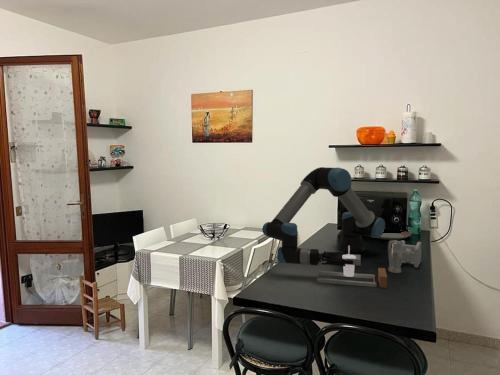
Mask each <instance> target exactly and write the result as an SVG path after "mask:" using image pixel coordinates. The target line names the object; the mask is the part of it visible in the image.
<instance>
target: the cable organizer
mask: <svg viewBox="0 0 500 375" xmlns="http://www.w3.org/2000/svg"><path fill="white" fill-rule="evenodd" d="M400 241H401V242H403V255H402V260H401V265H402V264H403V263H404V264H406V263H409V264H411V265H413V266H414V268H415V269H418V268H419V266H420V263H421V261H422V241H417V242H416V245H414V244H412V245H411V244H406V241H405V240H403V239H400Z"/></svg>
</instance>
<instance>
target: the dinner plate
mask: <svg viewBox="0 0 500 375" xmlns="http://www.w3.org/2000/svg"><path fill="white" fill-rule="evenodd" d="M403 231H404V230H403ZM410 236H411V233H410V232H408V231H404V232H401V233H383V234H382V235H381V236H380V237H379V238H378V239H379V240H384V241H391V240H396V241H401V240H403V239H407V238H408V237H410Z"/></svg>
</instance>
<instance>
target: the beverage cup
mask: <svg viewBox="0 0 500 375" xmlns="http://www.w3.org/2000/svg"><path fill="white" fill-rule="evenodd" d="M350 253H351V252H350V246H349V249H348V252H347V253H346V254H347V255H342V258H343V259H346V258H350V259H356V256H354V255H355V254H353V255H349V254H350ZM355 266H356V265H346V264H345V266H342V268H343V270H342V271H343V273H344V276H347V277H346V278H353V277H352V276H354V273H355Z"/></svg>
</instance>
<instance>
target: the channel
mask: <svg viewBox="0 0 500 375" xmlns="http://www.w3.org/2000/svg"><path fill="white" fill-rule="evenodd" d="M377 271H378V272H377V280H378V284H379V288H382V289H384V288H385V289H387V288H388V275H387V270H386V268H385V267H378V269H377ZM318 275H319V276H334V277H344V278H345V277H346V278H348V277H347V276H344V271H343V272H340V271H328V270H319V272H318ZM351 278H359V279H360V278H361V279H370V280H373V281H360V280H359V281H357V280H349V279H348V280H347V279H336V278H333V279H332V278H323V277H317V278H316V282H317V283H319V284H320V283H322V284H335V285H344V286H346V285H347V286H360V287H371V288H377V282H376V279H375V278H376V275H375V274H372V273H371V274H370V273H369V274H368V273H358V272H357V273H356V272H354V276H352V277H351Z"/></svg>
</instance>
